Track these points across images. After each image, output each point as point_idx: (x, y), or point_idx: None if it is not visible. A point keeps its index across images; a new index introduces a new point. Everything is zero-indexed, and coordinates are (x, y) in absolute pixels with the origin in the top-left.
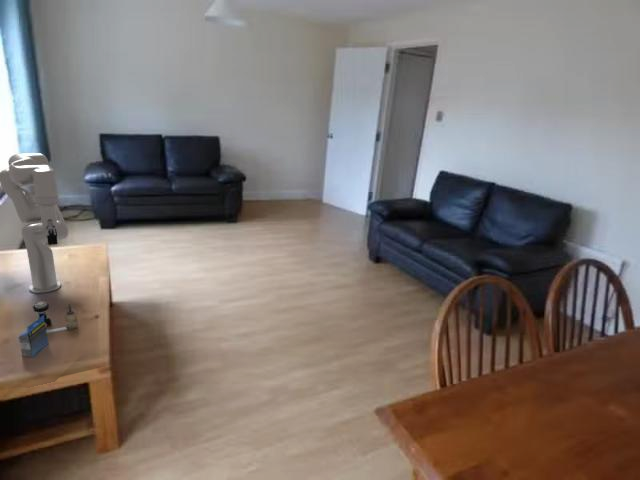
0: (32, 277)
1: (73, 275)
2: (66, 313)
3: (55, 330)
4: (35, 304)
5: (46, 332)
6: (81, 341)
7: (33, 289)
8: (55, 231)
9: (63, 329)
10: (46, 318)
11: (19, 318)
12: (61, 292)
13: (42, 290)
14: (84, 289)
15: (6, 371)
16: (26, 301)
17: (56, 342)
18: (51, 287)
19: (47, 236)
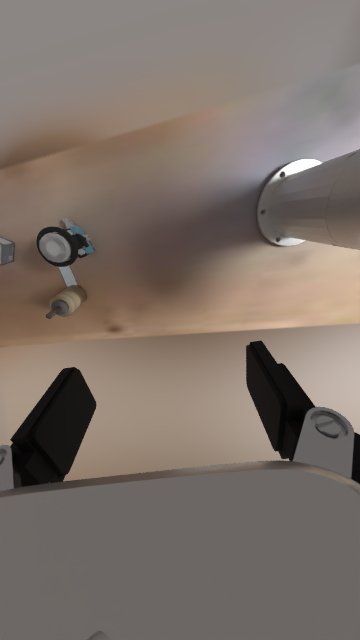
0: (306, 171)
1: (338, 266)
2: (61, 299)
3: (61, 267)
4: (47, 235)
5: None
6: (26, 314)
7: (279, 177)
8: (262, 417)
9: (65, 281)
10: (84, 248)
11: (124, 173)
12: (245, 251)
13: (262, 205)
14: (243, 298)
15: None
16: (219, 170)
17: (19, 275)
18: (271, 226)
19: (21, 431)
